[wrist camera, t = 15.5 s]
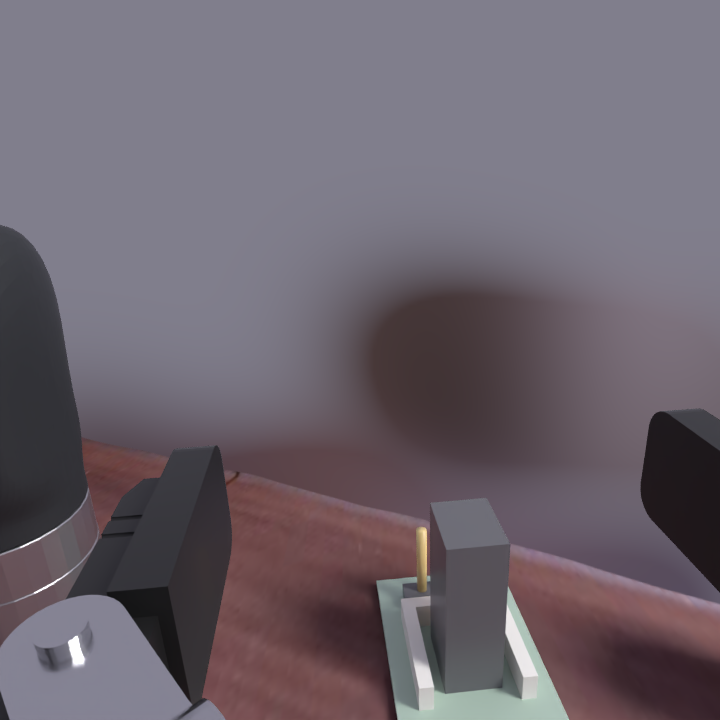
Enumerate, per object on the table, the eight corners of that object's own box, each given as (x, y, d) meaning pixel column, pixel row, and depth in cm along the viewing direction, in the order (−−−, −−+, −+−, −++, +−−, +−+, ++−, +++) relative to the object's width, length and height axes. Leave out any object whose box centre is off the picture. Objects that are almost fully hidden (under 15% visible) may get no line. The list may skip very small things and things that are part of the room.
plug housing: (502, 687, 39) (510, 543, 35) (445, 694, 39) (446, 549, 35) (481, 630, 44) (486, 497, 40) (430, 635, 43) (429, 502, 39)
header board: (573, 737, 36) (584, 646, 33) (402, 757, 35) (400, 665, 33) (499, 574, 50) (503, 501, 47) (376, 586, 49) (373, 512, 47)
